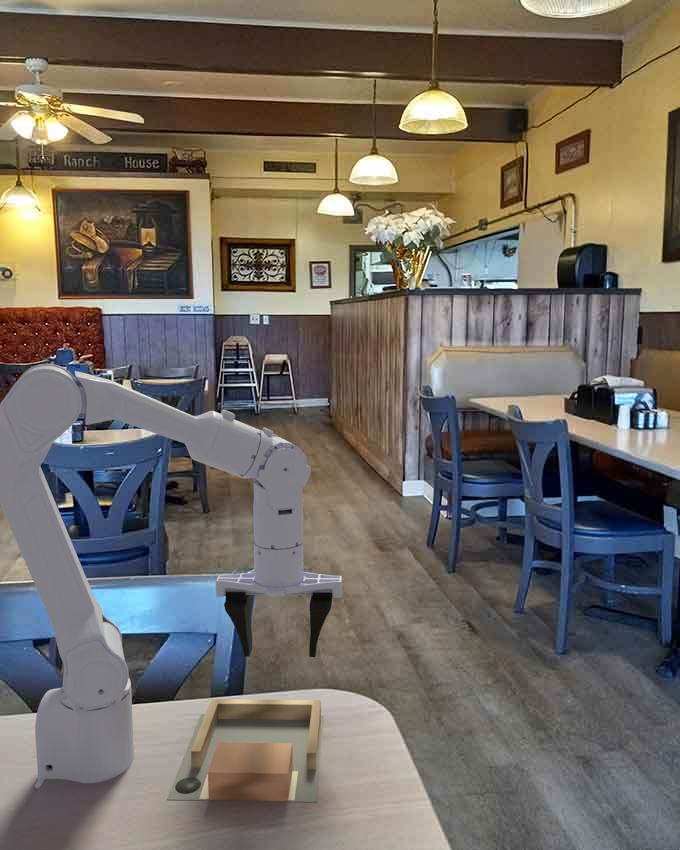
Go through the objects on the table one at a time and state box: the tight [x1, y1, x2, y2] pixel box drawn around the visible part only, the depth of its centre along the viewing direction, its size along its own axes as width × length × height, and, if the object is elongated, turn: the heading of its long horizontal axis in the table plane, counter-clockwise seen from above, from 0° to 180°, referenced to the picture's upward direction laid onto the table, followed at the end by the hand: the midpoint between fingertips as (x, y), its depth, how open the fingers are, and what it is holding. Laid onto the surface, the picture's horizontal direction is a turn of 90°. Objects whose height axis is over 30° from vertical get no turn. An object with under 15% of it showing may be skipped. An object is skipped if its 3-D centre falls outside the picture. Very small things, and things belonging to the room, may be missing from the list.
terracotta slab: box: [208, 743, 293, 802], centre depth 72 cm, size 8×5×3 cm, turn 89°
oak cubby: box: [191, 698, 322, 770], centre depth 80 cm, size 13×10×2 cm
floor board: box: [166, 713, 324, 803], centre depth 78 cm, size 15×16×1 cm
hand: (280, 652), depth 82 cm, fingers open, 7 cm apart
